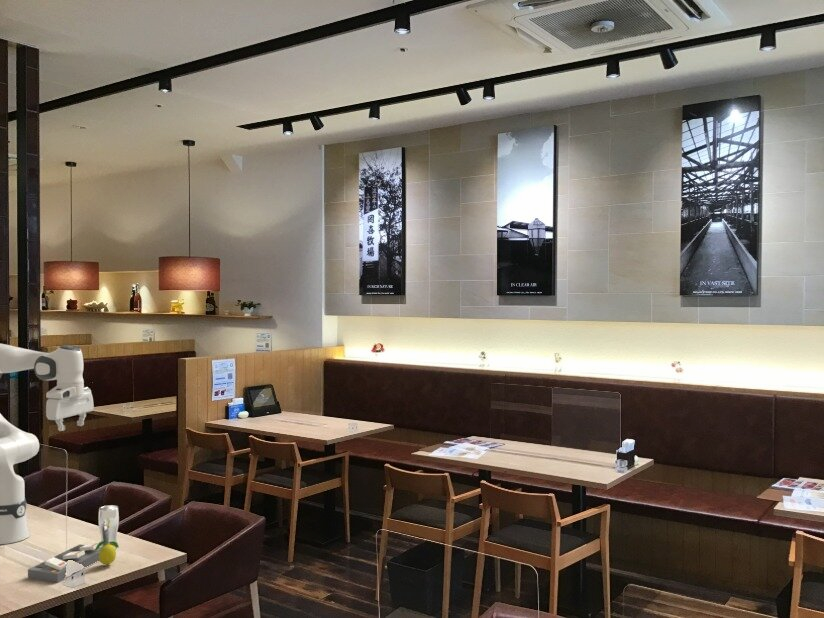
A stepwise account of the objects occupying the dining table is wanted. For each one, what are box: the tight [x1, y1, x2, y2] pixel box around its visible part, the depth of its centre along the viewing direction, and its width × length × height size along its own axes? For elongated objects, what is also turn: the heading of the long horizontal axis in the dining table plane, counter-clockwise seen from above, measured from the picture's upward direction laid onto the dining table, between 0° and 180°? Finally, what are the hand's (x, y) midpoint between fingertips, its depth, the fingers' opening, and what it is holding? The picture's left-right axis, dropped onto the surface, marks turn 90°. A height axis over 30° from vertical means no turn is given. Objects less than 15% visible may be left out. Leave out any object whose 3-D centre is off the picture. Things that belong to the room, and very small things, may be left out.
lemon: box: [95, 537, 119, 566], centre depth 256 cm, size 7×6×10 cm
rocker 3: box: [80, 542, 100, 551], centre depth 262 cm, size 6×4×1 cm, turn 73°
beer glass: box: [98, 504, 120, 550], centre depth 272 cm, size 7×7×15 cm
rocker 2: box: [63, 551, 85, 560], centre depth 254 cm, size 6×4×1 cm, turn 73°
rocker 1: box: [45, 556, 68, 570], centre depth 246 cm, size 6×4×1 cm, turn 74°
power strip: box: [27, 544, 102, 584], centre depth 255 cm, size 12×24×3 cm, turn 163°
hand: (71, 428), depth 268 cm, fingers open, 8 cm apart
